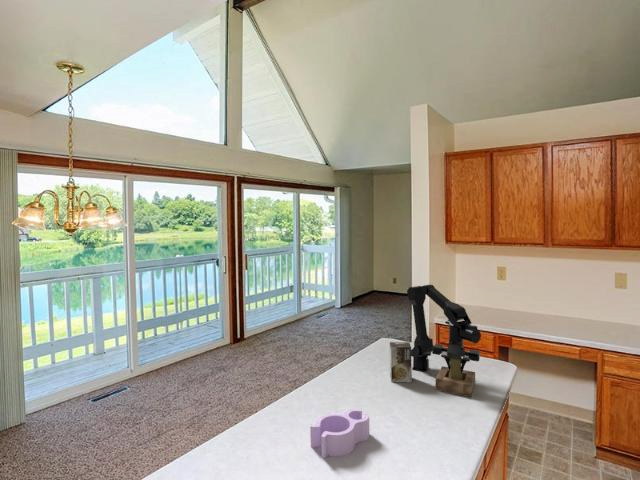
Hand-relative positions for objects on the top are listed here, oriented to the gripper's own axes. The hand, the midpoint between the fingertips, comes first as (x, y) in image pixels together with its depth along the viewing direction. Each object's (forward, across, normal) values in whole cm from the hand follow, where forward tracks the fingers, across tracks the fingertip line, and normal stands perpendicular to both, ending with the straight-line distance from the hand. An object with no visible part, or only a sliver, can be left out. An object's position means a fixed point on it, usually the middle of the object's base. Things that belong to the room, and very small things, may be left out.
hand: (455, 371), depth 159 cm
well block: (+6, 0, 0) cm, 6 cm away
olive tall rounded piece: (+4, 0, 0) cm, 4 cm away
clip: (+7, -26, -58) cm, 64 cm away
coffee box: (+7, -23, -4) cm, 24 cm away
